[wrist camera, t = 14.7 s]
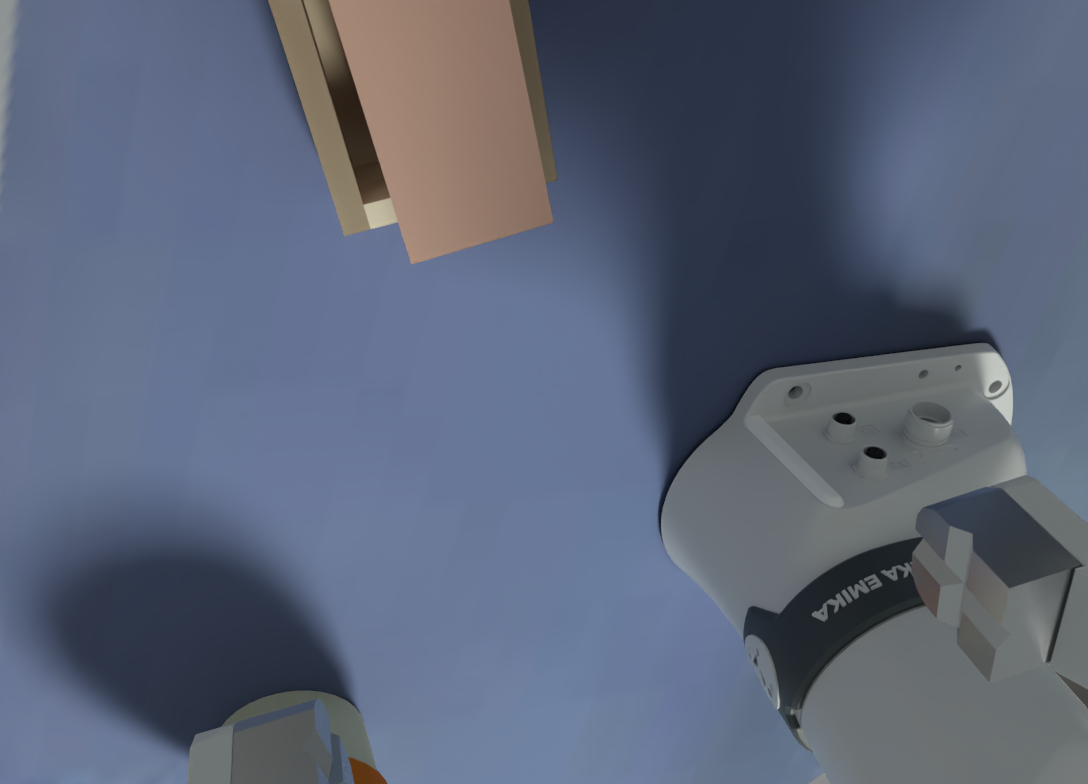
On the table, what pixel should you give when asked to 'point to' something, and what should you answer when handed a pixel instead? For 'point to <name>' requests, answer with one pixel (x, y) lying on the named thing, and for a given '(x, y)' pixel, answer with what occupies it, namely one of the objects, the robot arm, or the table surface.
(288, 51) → the slot holder
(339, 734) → the reusable coffee cup
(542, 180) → the peach block
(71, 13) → the table surface
